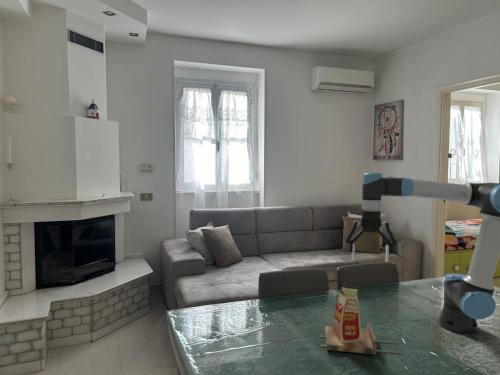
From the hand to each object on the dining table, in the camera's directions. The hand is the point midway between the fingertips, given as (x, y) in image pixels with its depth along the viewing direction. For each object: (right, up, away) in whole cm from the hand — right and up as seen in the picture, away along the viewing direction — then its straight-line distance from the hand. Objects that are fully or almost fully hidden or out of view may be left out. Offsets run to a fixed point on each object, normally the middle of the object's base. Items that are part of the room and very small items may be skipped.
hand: (369, 260), depth 154 cm
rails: (-7, -31, -9) cm, 33 cm away
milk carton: (-12, -29, -9) cm, 32 cm away
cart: (-11, -31, -9) cm, 34 cm away
